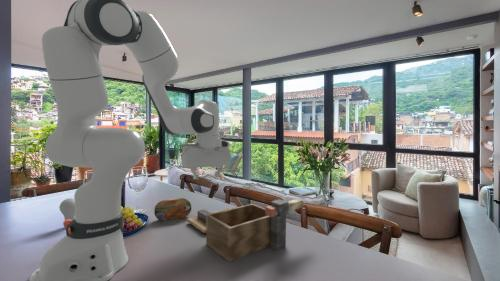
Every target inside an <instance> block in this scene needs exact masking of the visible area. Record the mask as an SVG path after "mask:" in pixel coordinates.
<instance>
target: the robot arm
mask: <svg viewBox="0 0 500 281" xmlns="http://www.w3.org/2000/svg"><path fill="white" fill-rule="evenodd" d="M41 43H42V44H41V46H42V53H43V60H44V65H45V68H46V73H47V76H48V79H49V82H50V86H51V89H52V92H53V95H54V96H53V97H54V98H55V103H56V107H57V123H56V126H55V129H54V130H53V131H52V132H51V133H50V134H49V135H48V136H47V139H46V141H45V145H44V151H45V154H46V156H47V158H48V160H50V161H51V162H52V163H54V164H57V165H61V166H65V167H69V168H92V173H91V177H90V179H89V180H88V181H86V182H84V183H82V184H81V185H80V186H78V188H77V189H76V190H75V192H74V196H73V199H74V200H75V219H74V220H71V219H66V220H65V219H64V221H63V223H62V224H63V227H64V228H65V233H66V234H65V235H64V236H63V237H62V238H61V239H60V240H58V241H57V242H56V243H54V244H53V245H52V246H51V247H50V248H48V249H47V250H46V251H45V253H44V255H43V256H42V259H41V262H40V265H39V268H37V269H36V270H34V271H33V273H32V274H31V275H30V277H29V279H28V281H109V280H111V279H112V278H113V276H114V275H115V274H116V273H117V272H118V271H120V270H121V269H122V268H123V267H125V266H126V265H127V263H128V262H129V255H128V253H127V251H126V247H125V243H124V242H125V241H124V236H123V232H124V225H125V224H124V214H123V212H122V189H123V185H124V181H125V180H126V177H127V175H128V174H129V172H130V171H131V170H132V169H133V168H134V167H136V166H137V165H138V164H139V163H140V162H141V161H142V160H143V158H144V155H145V151H146V145H145V141H144V138H143V137H142V136H141V134H140V133H139V132H138V131H135V130H130V129H126V128H121V127H98V126H97V122H96V118H97V116H98V115H100V114H101V113H103V112H104V111H105V110H106V109H107V107H108V105H109V96H108V91H107V88H106V84H105V80H104V76H103V72H102V68H101V65H100V51H101V48H102V47H103V46H122V45H124V46H126V47H127V48H128V49H129V50H130V52H131V53H132V55H133V57H134V59H135V60H136V61H137V63H138V65H139V66H140V70H141V72H142V83H143V86H144V88H145V90H146V93H147V95H148V97H149V98H150V101H151V103H152V105H153V107H154V109H155V111H156V113H157V115H158V117H159V121H160V126H161V127H162V129H163V130H164V132H165V133H166V134H168V135H170V136H176V135H195V142H186V143H184V144H183V145H182V147H181V149H182V150H181V153H182V154H181V155H182V156H181V167H182V168H185V169H190V172H191V173H192V178H193V180H199V179H200V174H197V172H196V171H197V168H207V167H208V168H209V167H216V168H217V170H216V172H214V177H215V178H220V177H221V173H222V171H223V168H224V167H223V166H230V164H231V162H232V153H231V150H230V147H231V144H230V142H229V141H228V140H224V139H222V138H220V133H219V127H220V110H219V106H218V104H217V102H215V101H213V100H208V99H201V100H198V103H197V104H195V105H192V106H187V107H177V106H175V105H173V103H172V101H171V98H170V96H169V94H168V92H167V90H166V83H168V82H169V81H170V80H172V78H174V77H175V75H176V74H177V72H178V69H179V65H180V64H179V63H180V60H179V58H178V54H177V53H176V50H175V48H174V46H173V44H172V42H171V41H170V39H169V38H168V35H167V34H166V33H165V30H164V29H163V28H162V26H161V25H160V23H159V22H158V21H157V19H156V18H155V17H154V16H153V14H151V13H150V12H147V11H144V10H143V11H141V10H138V11H135V10H134V9H133V8H132V7H130V5H129V4H127V3H126V2H125V1H124V0H76V1H74V2H73V3H72V4H71V5H70V7H69V9H68V11H67V14H66V18H65V20H64V24H63V26H55V27H52V28H49V29H47V30H46V31H45V32H44V33H43V34H42V37H41Z"/></svg>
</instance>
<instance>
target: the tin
mask: <svg viewBox="0 0 500 281" xmlns="http://www.w3.org/2000/svg"><path fill="white" fill-rule="evenodd" d="M191 212H192V204H191V202H190V201H189V200H188V199H187V198H184V197H180V198H179V197H178V198H171V199H163V200H160V201H158V202H157V203H156V205H155V207H154V212H153V214H154V216H155V218H156V219H157V220H159V221H161V222H167V221H174V220H181V219H185V218H187V217H188V216H189V215H190V214H191Z"/></svg>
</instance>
